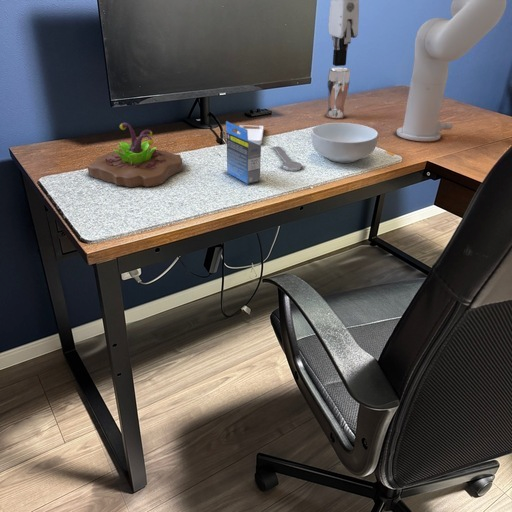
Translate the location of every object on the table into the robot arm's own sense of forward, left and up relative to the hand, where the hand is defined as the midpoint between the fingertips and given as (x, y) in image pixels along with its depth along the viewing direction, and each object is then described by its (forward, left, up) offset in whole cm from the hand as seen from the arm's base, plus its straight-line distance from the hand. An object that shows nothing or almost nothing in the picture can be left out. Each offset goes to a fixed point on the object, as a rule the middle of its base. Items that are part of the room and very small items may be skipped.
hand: (339, 65), depth 133 cm
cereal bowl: (+4, +19, -20) cm, 28 cm away
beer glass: (-9, -22, -20) cm, 31 cm away
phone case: (+24, -3, -20) cm, 31 cm away
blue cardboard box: (+32, +28, -20) cm, 47 cm away
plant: (+56, +20, -20) cm, 63 cm away
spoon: (+19, +18, -20) cm, 33 cm away
